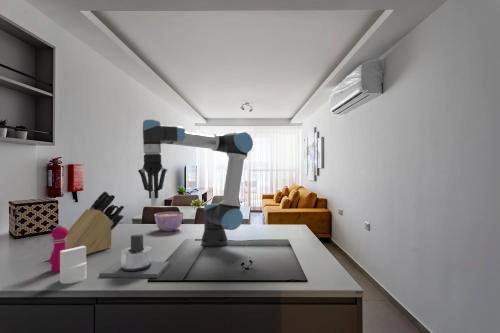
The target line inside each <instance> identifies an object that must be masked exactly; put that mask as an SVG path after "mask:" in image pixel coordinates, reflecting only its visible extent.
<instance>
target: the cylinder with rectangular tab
mask: <svg viewBox="0 0 500 333" xmlns="http://www.w3.org/2000/svg"><path fill="white" fill-rule="evenodd" d="M87 264H88V263H87V255H86V246H80V247H75V248H71V249H67V250H62V251H60V272H59V283H61V284H64V285H68V284H69V285H70V284H75V283H79V282H82V281H85V279H87V276H88V275H87Z"/></svg>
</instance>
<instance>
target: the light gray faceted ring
mask: <svg viewBox="0 0 500 333" xmlns="http://www.w3.org/2000/svg"><path fill="white" fill-rule="evenodd" d="M152 252H153V251H152V247H151V246H148V245H143V250H142V251H138V252H131V246H128V247H125V248H123V249H121V250H120V261H121V270H122V271H124V272H139V271H143V270H146V269H148V268H150V267H151V263H152V261H153V260H152V259H153V258H152Z"/></svg>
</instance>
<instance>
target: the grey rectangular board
mask: <svg viewBox="0 0 500 333" xmlns="http://www.w3.org/2000/svg"><path fill="white" fill-rule="evenodd" d="M170 262H171V261H153V260H152V263H151V267H150V268H148V269H146V270H143V271H139V272H124V271H122V270H121V260H118V261H116V262H115V263H113V264H111V265H110V266H108V267H107V268H105V269H103V270H102V271H101V272H99V273H98V274H99V276H98V277H99V278H141V279H142V278H145V279H147V278H148V279H149V278H150V279H151V278H152V279H156V278H159V277H160V276H161V275H162V274H163V273H164V272H163V271H166V270H167V268H168V267H170ZM162 272H163V273H162Z"/></svg>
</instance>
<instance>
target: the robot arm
mask: <svg viewBox="0 0 500 333" xmlns="http://www.w3.org/2000/svg"><path fill="white" fill-rule="evenodd" d="M142 142H143V143H142V144H143V146H142V147H143V154H144V155H143V166H142V168H141V169H138V170H137V172H138V173H139V175H140V177H141V182H142V186H143V188H144V191H147V192H148V197H149V199H150V206H151V207H156V206H157V203H158V202H157V200H158V199H159V191H161V190H163V188H164V182H165V177H166V173H168V168H165V167H163V165H162V154H161V153H162V151H161V150H162V149H161V148H162V146H161V145H163V144H165V145H174V146H182V147H183V146H184V147H193V148H202V149H209V150H212V151H214V152H221V153H226V156H227V157H228V161H227V168H226V174H225V182H224V189H223V195H222V200H221V201H220V202H219V203H210V204H209V203H207V204H205V205H204V206H203V207H204V208H203V212H204V214H203V215H204V218H203V220H204V222H203V223H204V225H203V226H204V227H203V228H204V229H203V230H204V231H203V233H202V236H201V241H200V242H201V243H202V244H203V246H204V247H220V246H221V247H222V246H225V245H227V244H228V237H227V232H226V231H225V230H228V231H235V230H237V229H238V228H240V226H241V224H242V222H243V219H244V216H243V213H242V211H241V209H240V208H241V205H240V203H239V197H240V190H241V183H242V177H243V170H244V162H245V160H246V159H247V158H248V154H249V152H250V151H251V150H252V149H253V148H254V147H253V146H254V140H253V137H251V135H250V134H249V133H248V132H245V131H235V132H231V133H224V134H213V135H210V134H202V133H195V132H188V131H186V129H185V128H184V127H183V126H179V125H164V124H163V125H162V124H161V121H160V120H159V119H153V118H152V119H144V120H143V122H142ZM160 172H161V173H160ZM146 173H147V174H146ZM159 173H160V177H159ZM201 243H200V244H201ZM202 244H201V245H202Z"/></svg>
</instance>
